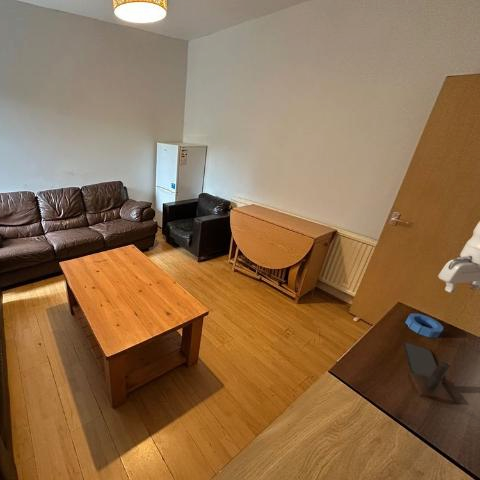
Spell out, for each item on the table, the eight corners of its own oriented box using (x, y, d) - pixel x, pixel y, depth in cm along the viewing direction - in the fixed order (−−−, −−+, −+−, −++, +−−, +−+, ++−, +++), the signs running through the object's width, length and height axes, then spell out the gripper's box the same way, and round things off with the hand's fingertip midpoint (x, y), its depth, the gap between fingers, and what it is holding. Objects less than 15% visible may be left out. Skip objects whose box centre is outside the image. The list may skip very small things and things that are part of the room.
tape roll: (430, 322, 98) (433, 316, 97) (445, 340, 90) (449, 334, 89) (401, 316, 101) (404, 311, 99) (413, 334, 93) (416, 328, 91)
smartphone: (431, 350, 86) (445, 384, 75) (430, 352, 86) (443, 386, 75) (403, 340, 90) (411, 372, 78) (402, 342, 90) (410, 374, 79)
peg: (436, 382, 76) (453, 357, 72) (451, 404, 70) (471, 379, 66) (407, 375, 78) (422, 351, 74) (419, 396, 72) (436, 371, 68)
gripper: (466, 262, 78) (444, 298, 84) (522, 257, 80) (497, 293, 86) (443, 252, 84) (424, 287, 90) (495, 248, 86) (474, 282, 92)
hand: (460, 290), depth 88 cm, fingers open, 8 cm apart
